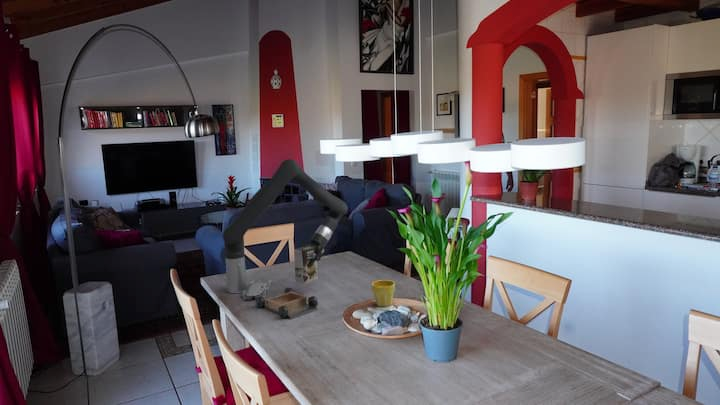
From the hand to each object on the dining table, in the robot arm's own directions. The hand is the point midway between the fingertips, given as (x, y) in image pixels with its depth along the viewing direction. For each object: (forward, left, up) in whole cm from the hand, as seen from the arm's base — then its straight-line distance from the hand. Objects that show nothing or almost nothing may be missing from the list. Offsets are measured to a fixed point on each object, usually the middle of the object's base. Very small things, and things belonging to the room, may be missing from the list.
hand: (303, 265), depth 237 cm
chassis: (+7, -15, -15) cm, 22 cm away
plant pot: (+37, +16, -15) cm, 43 cm away
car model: (-20, -14, -15) cm, 29 cm away
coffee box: (0, +2, -8) cm, 8 cm away
